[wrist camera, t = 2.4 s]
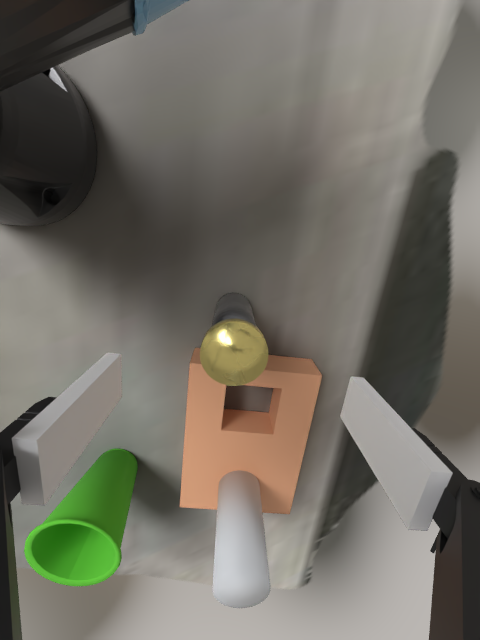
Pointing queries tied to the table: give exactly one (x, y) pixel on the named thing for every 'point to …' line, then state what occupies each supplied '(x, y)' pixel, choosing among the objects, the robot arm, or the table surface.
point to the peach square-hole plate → (246, 467)
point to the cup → (86, 525)
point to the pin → (234, 343)
